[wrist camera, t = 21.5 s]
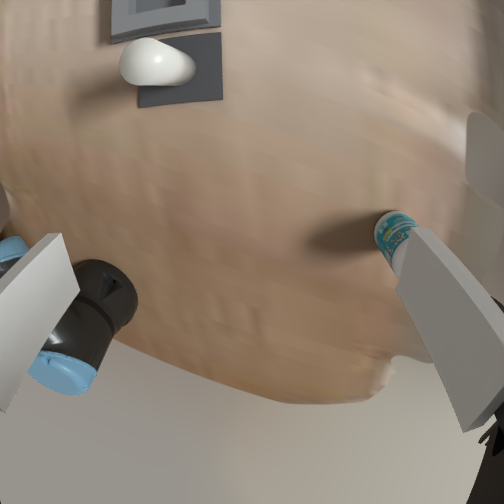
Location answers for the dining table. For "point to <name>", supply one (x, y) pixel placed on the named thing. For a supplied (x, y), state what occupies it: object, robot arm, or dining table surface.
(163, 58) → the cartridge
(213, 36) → the mat
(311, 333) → the dining table surface
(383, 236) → the pill bottle
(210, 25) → the housing
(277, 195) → the dining table surface
